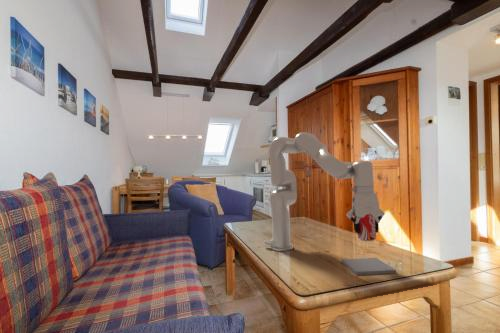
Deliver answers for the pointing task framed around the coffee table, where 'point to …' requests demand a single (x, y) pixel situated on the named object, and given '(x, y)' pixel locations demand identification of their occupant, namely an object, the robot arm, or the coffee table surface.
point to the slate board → (367, 266)
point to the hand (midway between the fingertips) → (366, 231)
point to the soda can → (367, 228)
